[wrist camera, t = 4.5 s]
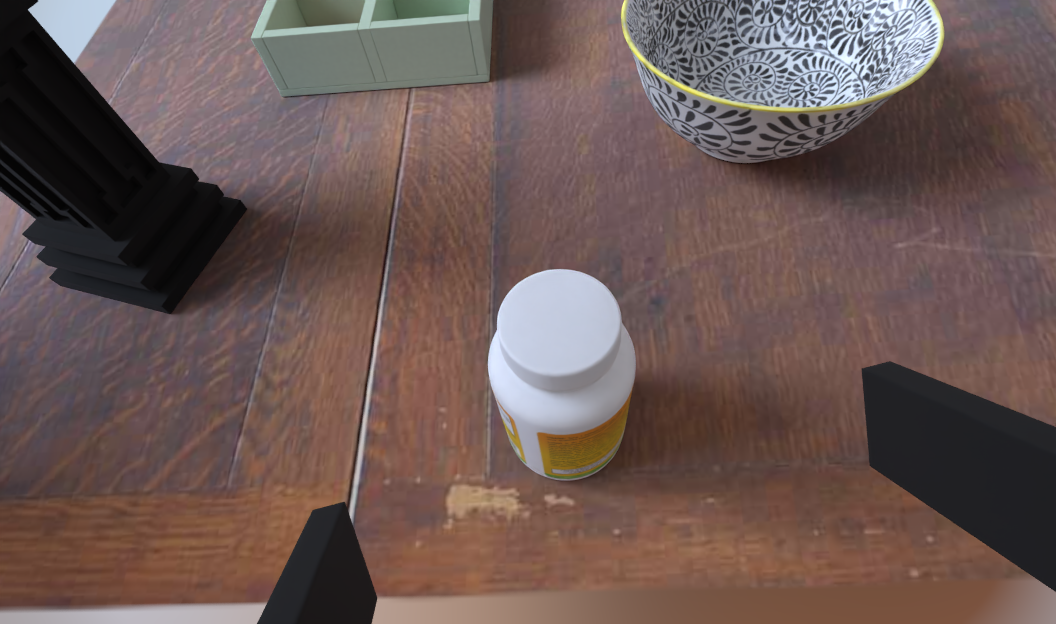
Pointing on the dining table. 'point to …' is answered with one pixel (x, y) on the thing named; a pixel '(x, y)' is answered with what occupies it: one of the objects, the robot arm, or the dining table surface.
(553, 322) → the supplement bottle
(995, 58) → the dining table surface
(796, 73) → the bowl
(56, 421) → the dining table surface
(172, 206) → the chess piece
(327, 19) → the grid
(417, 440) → the dining table surface
